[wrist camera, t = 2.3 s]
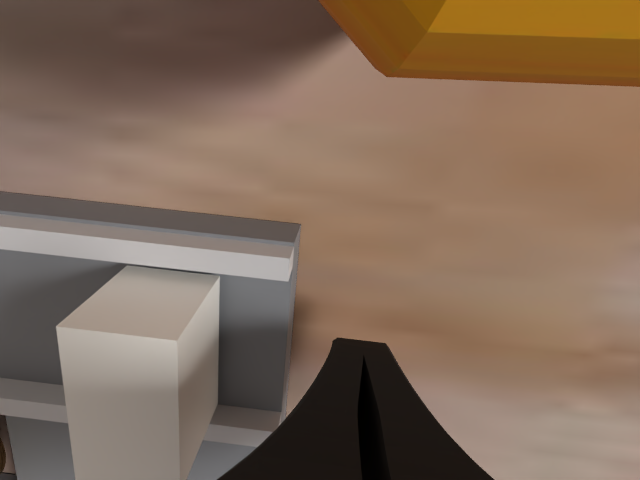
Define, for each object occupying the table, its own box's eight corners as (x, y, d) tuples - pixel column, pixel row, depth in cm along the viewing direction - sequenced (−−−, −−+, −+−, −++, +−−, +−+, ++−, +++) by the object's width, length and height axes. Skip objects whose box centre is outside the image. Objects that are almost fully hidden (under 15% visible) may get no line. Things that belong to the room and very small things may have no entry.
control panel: (267, 646, 20) (256, 717, 17) (-95, 595, 20) (-149, 657, 18) (300, 223, 13) (290, 254, 11) (-241, 165, 14) (-354, 183, 11)
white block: (217, 403, 13) (180, 494, 10) (134, 393, 13) (75, 480, 10) (219, 275, 12) (177, 341, 9) (127, 265, 12) (55, 326, 9)
